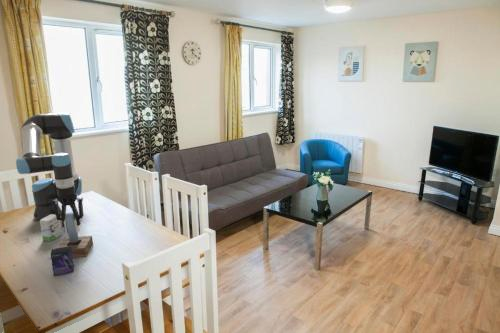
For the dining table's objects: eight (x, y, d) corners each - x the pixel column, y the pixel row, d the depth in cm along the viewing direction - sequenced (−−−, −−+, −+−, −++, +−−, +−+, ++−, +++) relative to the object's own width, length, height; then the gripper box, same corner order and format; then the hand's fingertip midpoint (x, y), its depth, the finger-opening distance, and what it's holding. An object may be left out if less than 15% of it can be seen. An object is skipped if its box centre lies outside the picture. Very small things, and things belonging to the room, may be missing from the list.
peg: (70, 239, 169) (66, 212, 166) (79, 238, 170) (75, 212, 166) (68, 243, 165) (63, 216, 162) (77, 242, 166) (72, 215, 162)
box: (53, 276, 149) (49, 254, 146) (54, 270, 154) (51, 248, 151) (74, 272, 152) (70, 250, 149) (74, 266, 157) (71, 244, 154)
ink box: (54, 233, 189) (50, 213, 186) (62, 234, 188) (59, 214, 185) (42, 240, 181) (38, 220, 178) (51, 241, 180) (47, 220, 177)
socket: (66, 246, 175) (64, 237, 173) (93, 244, 177) (91, 235, 175) (56, 260, 162) (55, 250, 161) (86, 257, 164) (84, 247, 163)
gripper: (42, 190, 155) (50, 237, 161) (82, 187, 158) (89, 234, 164) (48, 185, 163) (56, 230, 169) (87, 182, 165) (93, 227, 171)
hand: (72, 232), depth 166 cm, fingers closed on peg, 4 cm apart
